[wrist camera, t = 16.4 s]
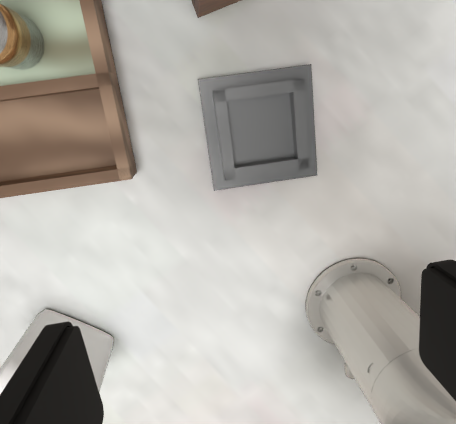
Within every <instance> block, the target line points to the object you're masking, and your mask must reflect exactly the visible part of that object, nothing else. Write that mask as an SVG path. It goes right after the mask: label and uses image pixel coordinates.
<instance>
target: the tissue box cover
mask: <svg viewBox="0 0 456 424" xmlns="http://www.w3.org/2000/svg"><path fill="white" fill-rule="evenodd" d="M238 1H241V0H192V3H193V6H194V8H195V11H196V14H197V17H198V18H199V17H201V16H204V15H206V14H209V13H211V12H213V11H216V10H218V9H221V8H223V7H226V6H228V5H231V4H233V3H236V2H238Z"/></svg>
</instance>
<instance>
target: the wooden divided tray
mask: <svg viewBox="0 0 456 424" xmlns="http://www.w3.org/2000/svg"><path fill="white" fill-rule="evenodd" d="M0 4H2V5H4V6H6V7H8V8H10V9H12V10H14V11H15V12H17V13H19V14H21V15H23V16H25V17H27V18H29V19H30V20H31V21H33V22H34V23H35V24H36V26H37V27H38V28H39V30H40V32H41V34H42V36H43V40H44V52H43V55H42V58H41V59H40V61H39V62H38V63H37V64H36V65H35V66H33V67H31V68H29V69H24V70H19V69H13V68H7V67H0V198H4V197H11V196H18V195H25V194H32V193H39V192H46V191H52V190H59V189H66V188H73V187H80V186H87V185H94V184H101V183H108V182H115V181H121V180H128V179H132V178H133V176H134V175H135V174H136V172H137V170H136V165H135V160H134V155H133V151H132V146H131V141H130V136H129V132H128V127H127V122H126V117H125V112H124V108H123V103H122V98H121V93H120V88H119V84H118V79H117V74H116V69H115V64H114V60H113V55H112V50H111V45H110V41H109V36H108V31H107V26H106V21H105V17H104V12H103V7H102V2H101V0H0Z"/></svg>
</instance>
